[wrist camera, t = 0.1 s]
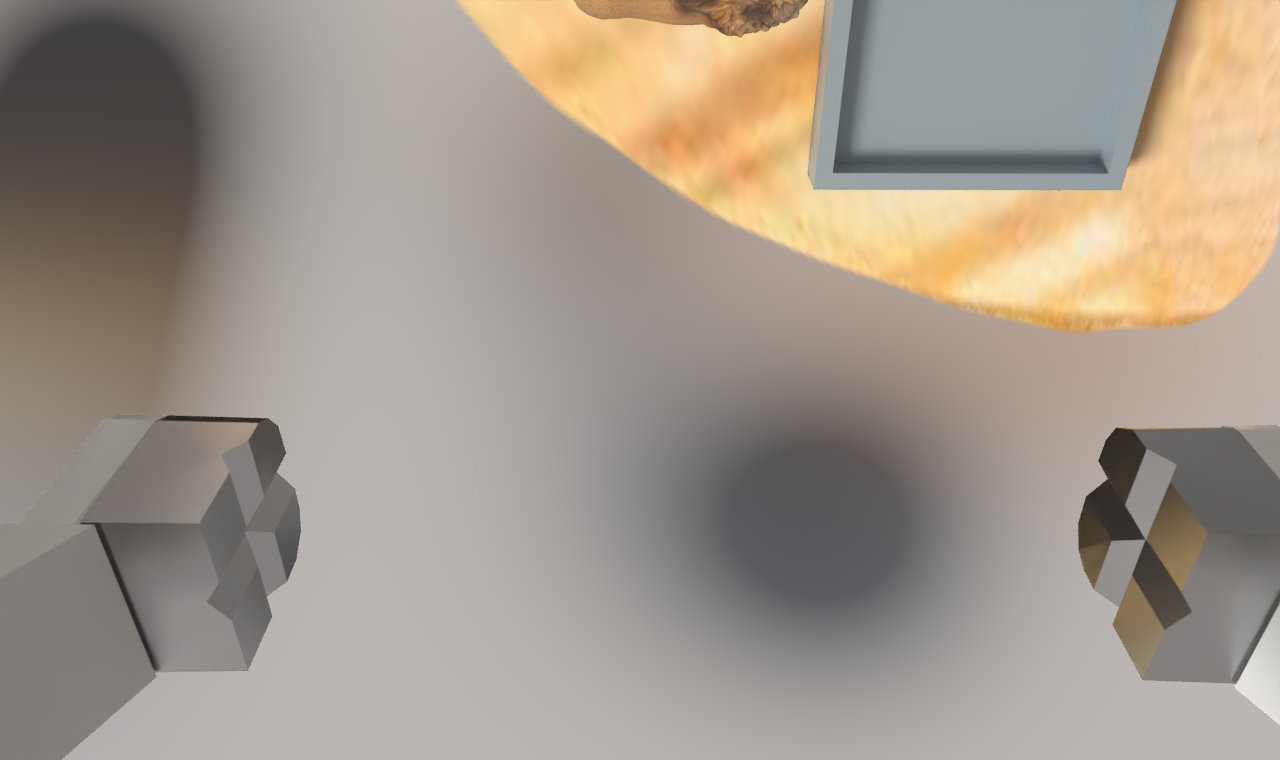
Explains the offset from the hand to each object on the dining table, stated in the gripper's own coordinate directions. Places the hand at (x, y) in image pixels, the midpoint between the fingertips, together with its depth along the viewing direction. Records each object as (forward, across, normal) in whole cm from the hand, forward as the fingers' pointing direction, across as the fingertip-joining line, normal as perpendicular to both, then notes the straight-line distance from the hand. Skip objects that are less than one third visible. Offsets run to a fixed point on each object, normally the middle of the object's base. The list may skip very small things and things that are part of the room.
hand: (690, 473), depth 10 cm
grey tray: (+48, -18, +7) cm, 52 cm away
